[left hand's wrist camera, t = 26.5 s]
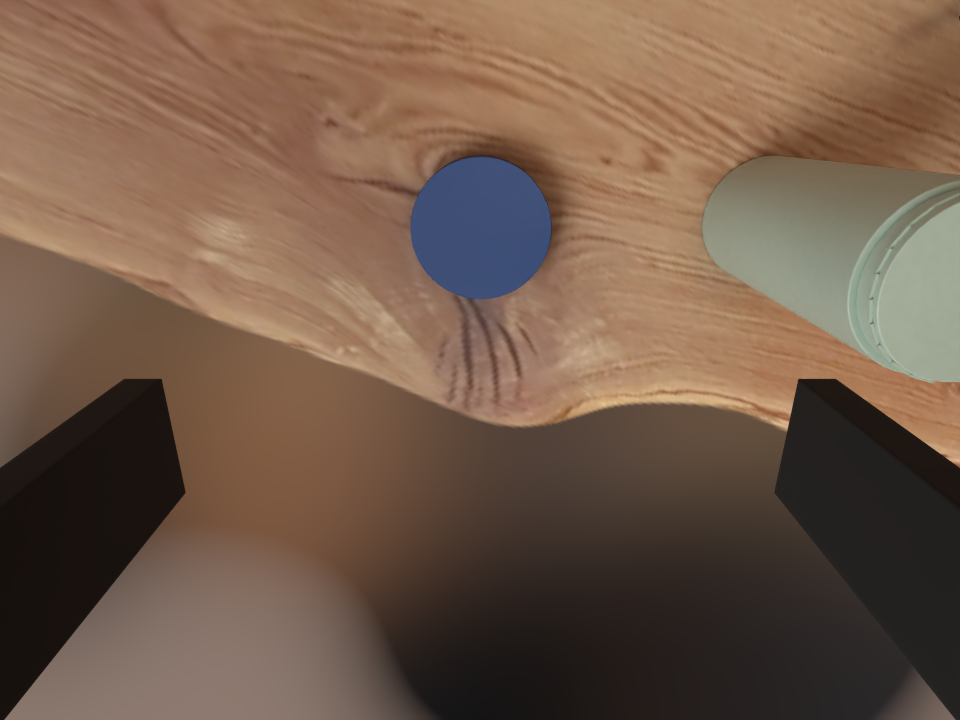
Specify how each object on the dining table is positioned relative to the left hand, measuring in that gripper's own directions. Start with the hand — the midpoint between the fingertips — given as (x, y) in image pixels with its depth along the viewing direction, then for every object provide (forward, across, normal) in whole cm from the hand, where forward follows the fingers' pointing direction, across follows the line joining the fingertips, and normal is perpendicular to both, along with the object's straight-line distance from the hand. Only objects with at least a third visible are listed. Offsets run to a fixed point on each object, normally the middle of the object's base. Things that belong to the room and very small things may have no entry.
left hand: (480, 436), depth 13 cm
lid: (+28, 0, 0) cm, 28 cm away
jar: (+29, +19, 0) cm, 35 cm away
